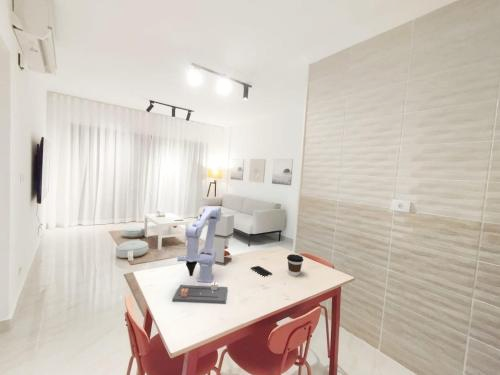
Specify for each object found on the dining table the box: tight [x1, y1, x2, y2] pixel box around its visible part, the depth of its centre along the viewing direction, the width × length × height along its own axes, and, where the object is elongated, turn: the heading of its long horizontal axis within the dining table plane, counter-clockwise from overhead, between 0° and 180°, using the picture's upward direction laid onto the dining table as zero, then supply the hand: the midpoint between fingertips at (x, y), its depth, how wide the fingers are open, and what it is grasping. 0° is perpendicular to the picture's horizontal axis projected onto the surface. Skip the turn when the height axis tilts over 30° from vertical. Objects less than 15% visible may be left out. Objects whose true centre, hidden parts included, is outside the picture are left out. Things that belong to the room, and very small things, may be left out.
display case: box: [212, 212, 235, 267], centre depth 166 cm, size 11×11×35 cm
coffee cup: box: [286, 253, 304, 277], centre depth 152 cm, size 11×11×12 cm
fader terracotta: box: [181, 288, 188, 297], centre depth 114 cm, size 3×3×3 cm
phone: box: [250, 265, 273, 278], centre depth 153 cm, size 8×1×15 cm
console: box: [172, 284, 229, 305], centre depth 119 cm, size 14×26×2 cm, turn 92°
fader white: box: [210, 281, 219, 290], centre depth 123 cm, size 3×3×3 cm
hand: (191, 275), depth 118 cm, fingers closed
